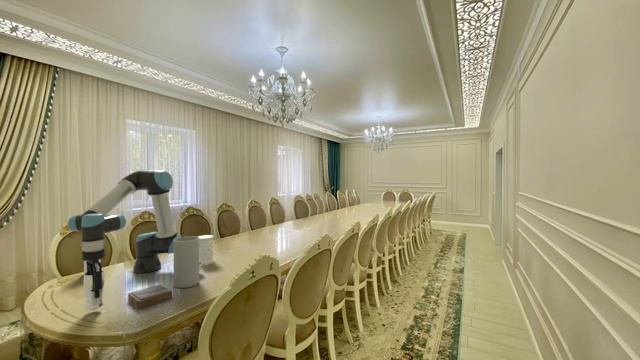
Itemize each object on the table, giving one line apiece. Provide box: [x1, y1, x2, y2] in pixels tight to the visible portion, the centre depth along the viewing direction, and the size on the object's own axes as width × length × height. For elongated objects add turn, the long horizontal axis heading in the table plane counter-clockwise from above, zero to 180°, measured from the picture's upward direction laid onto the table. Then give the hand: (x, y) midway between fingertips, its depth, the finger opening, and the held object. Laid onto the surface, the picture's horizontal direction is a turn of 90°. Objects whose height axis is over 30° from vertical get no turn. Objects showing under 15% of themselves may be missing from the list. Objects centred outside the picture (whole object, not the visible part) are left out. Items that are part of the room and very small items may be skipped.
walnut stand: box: [127, 284, 173, 311], centre depth 129 cm, size 14×14×4 cm
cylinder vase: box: [173, 235, 200, 289], centre depth 149 cm, size 12×12×25 cm
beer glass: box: [82, 269, 105, 311], centre depth 117 cm, size 7×7×15 cm
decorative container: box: [197, 234, 215, 266], centre depth 186 cm, size 12×12×18 cm
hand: (94, 302), depth 117 cm, fingers closed on beer glass, 6 cm apart
